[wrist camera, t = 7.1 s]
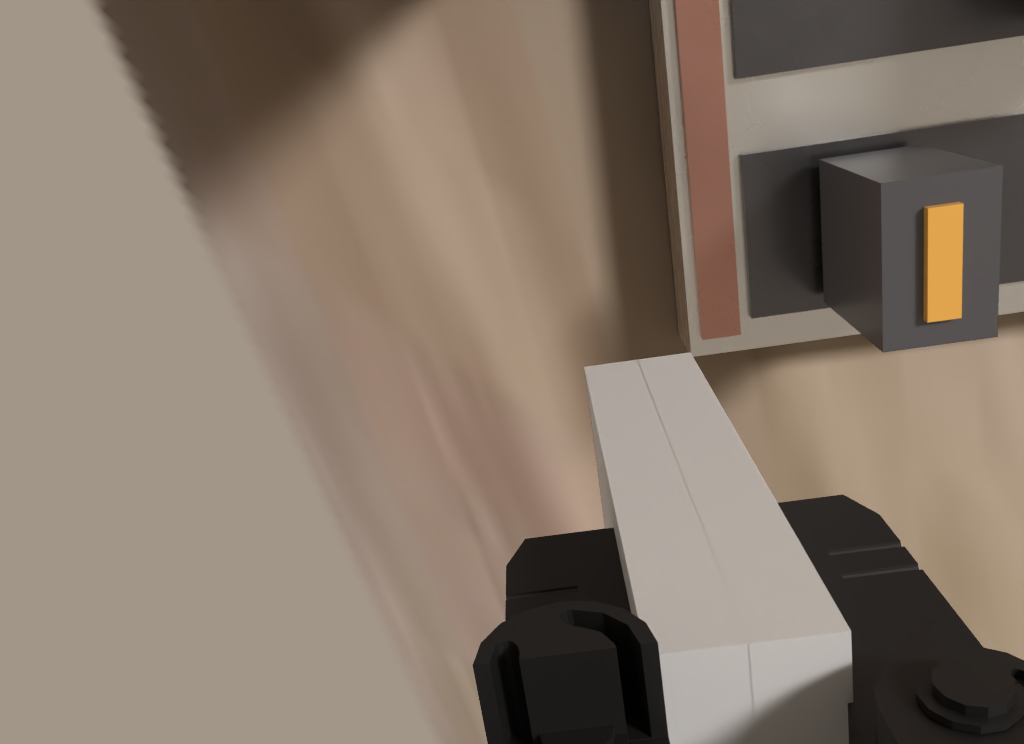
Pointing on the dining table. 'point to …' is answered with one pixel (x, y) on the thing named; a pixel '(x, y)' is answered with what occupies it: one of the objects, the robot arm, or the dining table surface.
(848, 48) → the panel
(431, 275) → the dining table surface
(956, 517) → the dining table surface
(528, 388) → the dining table surface
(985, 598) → the dining table surface
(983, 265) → the breaker
